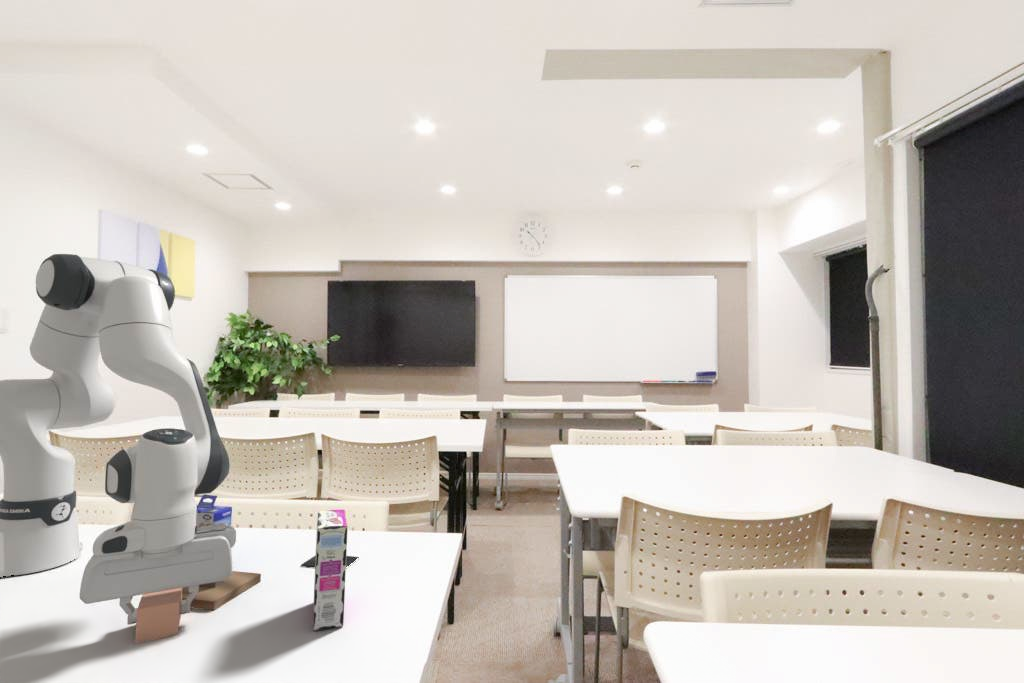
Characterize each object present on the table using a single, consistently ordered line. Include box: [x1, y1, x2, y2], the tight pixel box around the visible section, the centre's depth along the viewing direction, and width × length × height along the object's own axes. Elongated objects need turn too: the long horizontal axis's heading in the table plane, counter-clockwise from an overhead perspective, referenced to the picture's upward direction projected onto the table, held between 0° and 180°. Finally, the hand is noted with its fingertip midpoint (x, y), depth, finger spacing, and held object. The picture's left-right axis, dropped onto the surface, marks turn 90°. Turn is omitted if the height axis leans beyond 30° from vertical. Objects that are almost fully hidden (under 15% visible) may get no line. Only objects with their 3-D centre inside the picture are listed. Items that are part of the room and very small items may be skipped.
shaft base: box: [182, 570, 262, 611], centre depth 95 cm, size 12×12×6 cm
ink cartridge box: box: [195, 494, 233, 535], centre depth 107 cm, size 10×6×14 cm, turn 78°
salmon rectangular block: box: [135, 588, 182, 644], centre depth 81 cm, size 5×7×5 cm
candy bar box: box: [312, 509, 349, 632], centre depth 87 cm, size 11×5×16 cm, turn 21°
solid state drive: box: [300, 554, 360, 568], centre depth 109 cm, size 7×10×1 cm
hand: (159, 617), depth 81 cm, fingers closed on salmon rectangular block, 5 cm apart
